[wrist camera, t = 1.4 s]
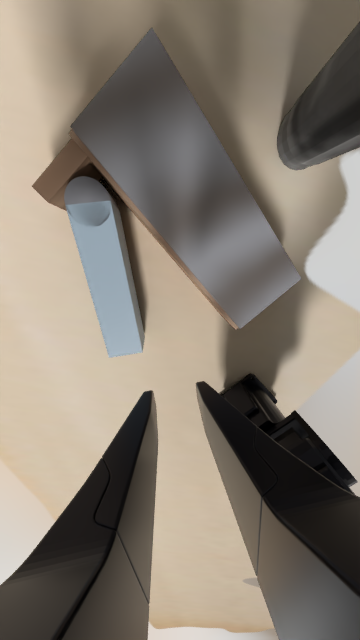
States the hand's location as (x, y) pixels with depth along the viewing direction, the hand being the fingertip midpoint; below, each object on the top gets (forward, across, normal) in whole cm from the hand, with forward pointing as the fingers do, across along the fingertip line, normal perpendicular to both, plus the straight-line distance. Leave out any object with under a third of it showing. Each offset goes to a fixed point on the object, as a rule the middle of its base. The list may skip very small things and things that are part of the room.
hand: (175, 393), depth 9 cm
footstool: (+12, -2, -7) cm, 14 cm away
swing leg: (+12, +4, -5) cm, 13 cm away
